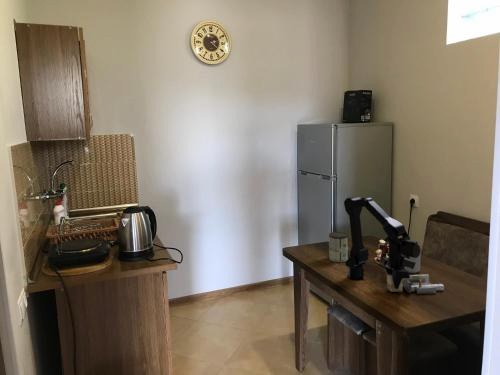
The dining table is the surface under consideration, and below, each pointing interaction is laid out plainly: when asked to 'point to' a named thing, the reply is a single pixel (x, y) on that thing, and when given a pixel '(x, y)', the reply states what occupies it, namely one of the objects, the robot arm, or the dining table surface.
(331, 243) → the coffee can
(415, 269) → the can
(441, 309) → the dining table surface
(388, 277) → the block
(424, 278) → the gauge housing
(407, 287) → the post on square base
